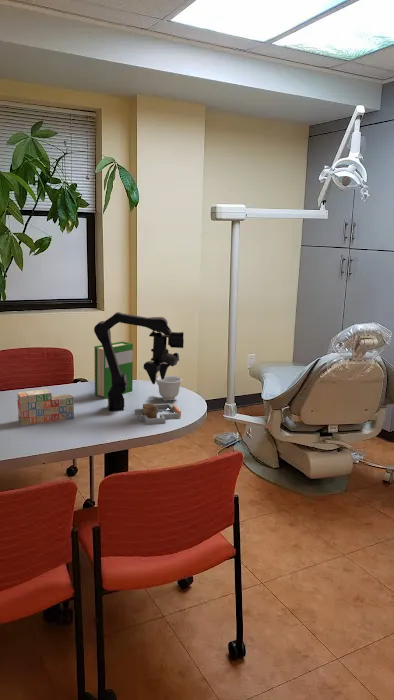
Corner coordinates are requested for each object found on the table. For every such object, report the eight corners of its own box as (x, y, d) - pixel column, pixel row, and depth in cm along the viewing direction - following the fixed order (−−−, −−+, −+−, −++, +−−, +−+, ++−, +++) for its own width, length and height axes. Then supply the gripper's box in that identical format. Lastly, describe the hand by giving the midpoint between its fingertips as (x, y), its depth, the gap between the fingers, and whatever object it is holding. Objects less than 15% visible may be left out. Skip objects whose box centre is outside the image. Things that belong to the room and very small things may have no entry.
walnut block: (145, 418, 230) (145, 407, 228) (142, 415, 234) (142, 403, 233) (156, 418, 231) (156, 406, 230) (154, 414, 236) (154, 403, 235)
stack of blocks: (70, 414, 232) (69, 386, 229) (74, 418, 227) (73, 390, 224) (18, 420, 222) (17, 391, 220) (20, 425, 217) (19, 396, 214)
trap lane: (141, 424, 222) (141, 417, 221) (132, 410, 240) (132, 403, 239) (183, 421, 228) (184, 414, 227) (172, 407, 245) (172, 401, 245)
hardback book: (105, 399, 254) (105, 348, 249) (94, 395, 259) (94, 346, 254) (132, 391, 268) (132, 343, 263) (121, 388, 272) (122, 341, 267)
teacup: (165, 392, 267) (166, 373, 265) (186, 399, 257) (187, 379, 255) (146, 397, 259) (147, 376, 257) (167, 404, 249) (168, 383, 247)
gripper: (167, 353, 224) (166, 389, 227) (185, 345, 241) (183, 379, 244) (143, 349, 228) (142, 385, 231) (162, 342, 245) (160, 375, 248)
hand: (158, 381), depth 238 cm, fingers open, 9 cm apart
